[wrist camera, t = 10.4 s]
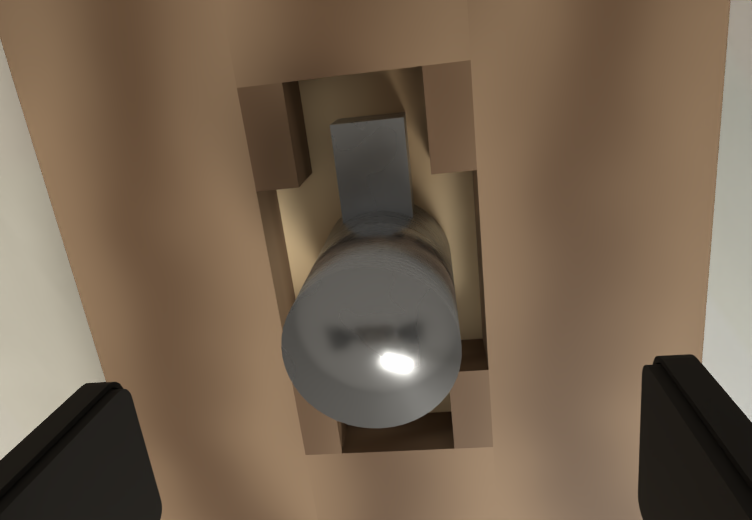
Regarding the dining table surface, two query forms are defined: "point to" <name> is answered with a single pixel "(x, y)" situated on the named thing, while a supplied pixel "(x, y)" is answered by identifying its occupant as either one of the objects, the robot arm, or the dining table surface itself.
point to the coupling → (376, 291)
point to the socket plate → (430, 192)
